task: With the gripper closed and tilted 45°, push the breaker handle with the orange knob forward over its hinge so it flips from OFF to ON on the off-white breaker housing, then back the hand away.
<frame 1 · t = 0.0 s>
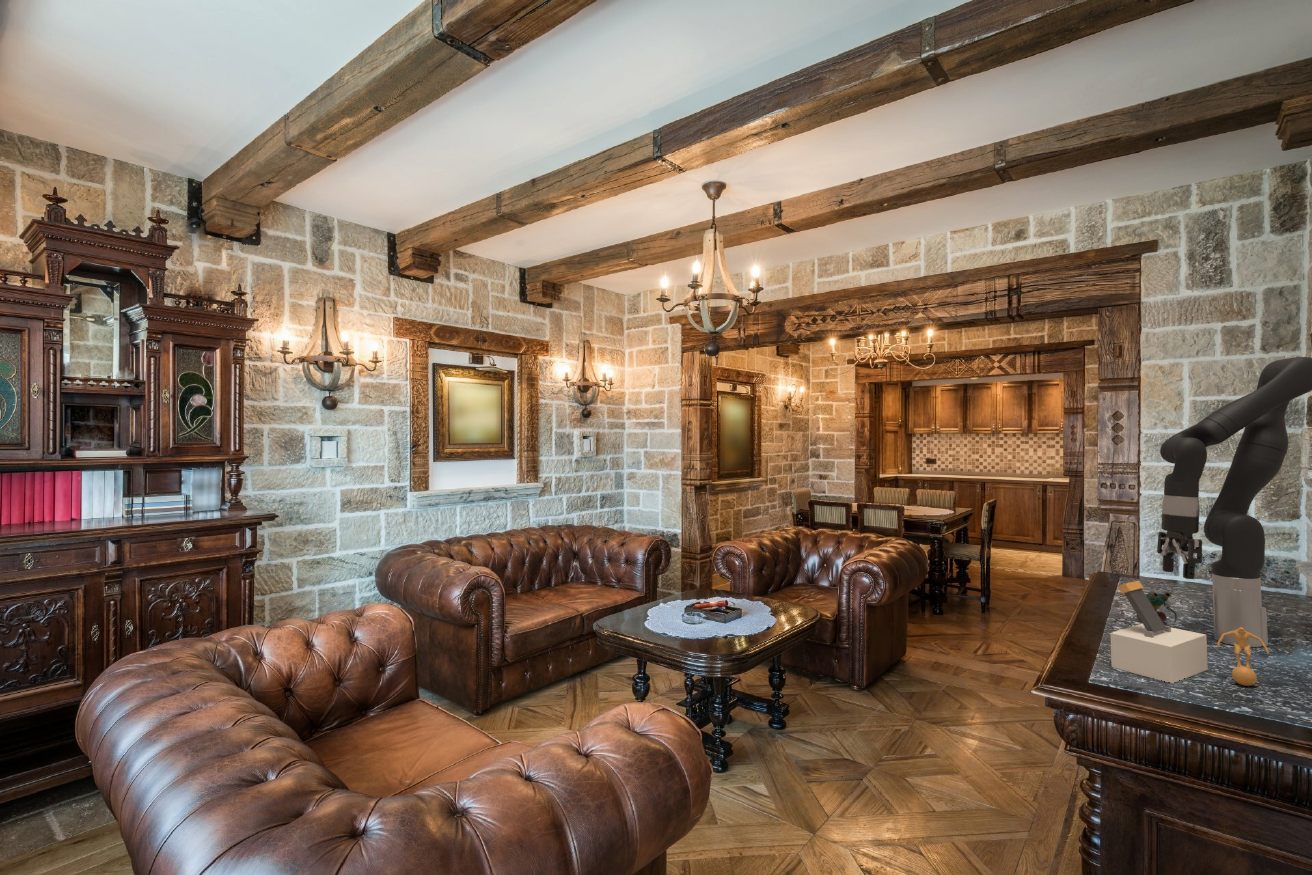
hand: (1177, 575, 164), 17 cm above the table, tool pointing down, fingers open, 8 cm apart
breaker housing: (1159, 668, 146), on the table
binoculars: (1153, 624, 180), on the table
breaker handle: (1143, 607, 148), point 14 cm above the table, hinge at -30.0°
figurine: (1244, 684, 136), on the table
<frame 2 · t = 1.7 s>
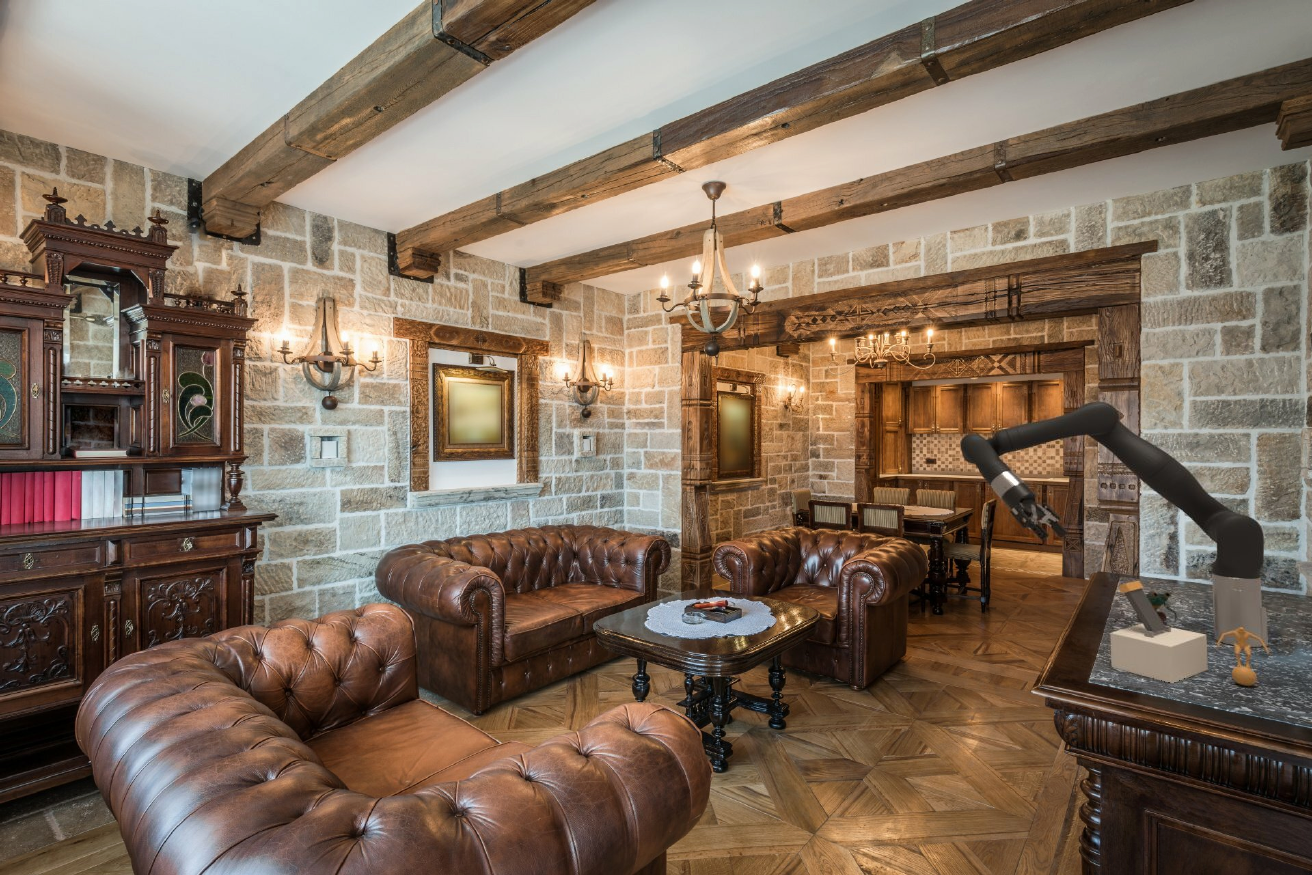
hand: (1055, 536, 166), 28 cm above the table, tool tilted 45°, fingers open, 8 cm apart
nothing on the table moved.
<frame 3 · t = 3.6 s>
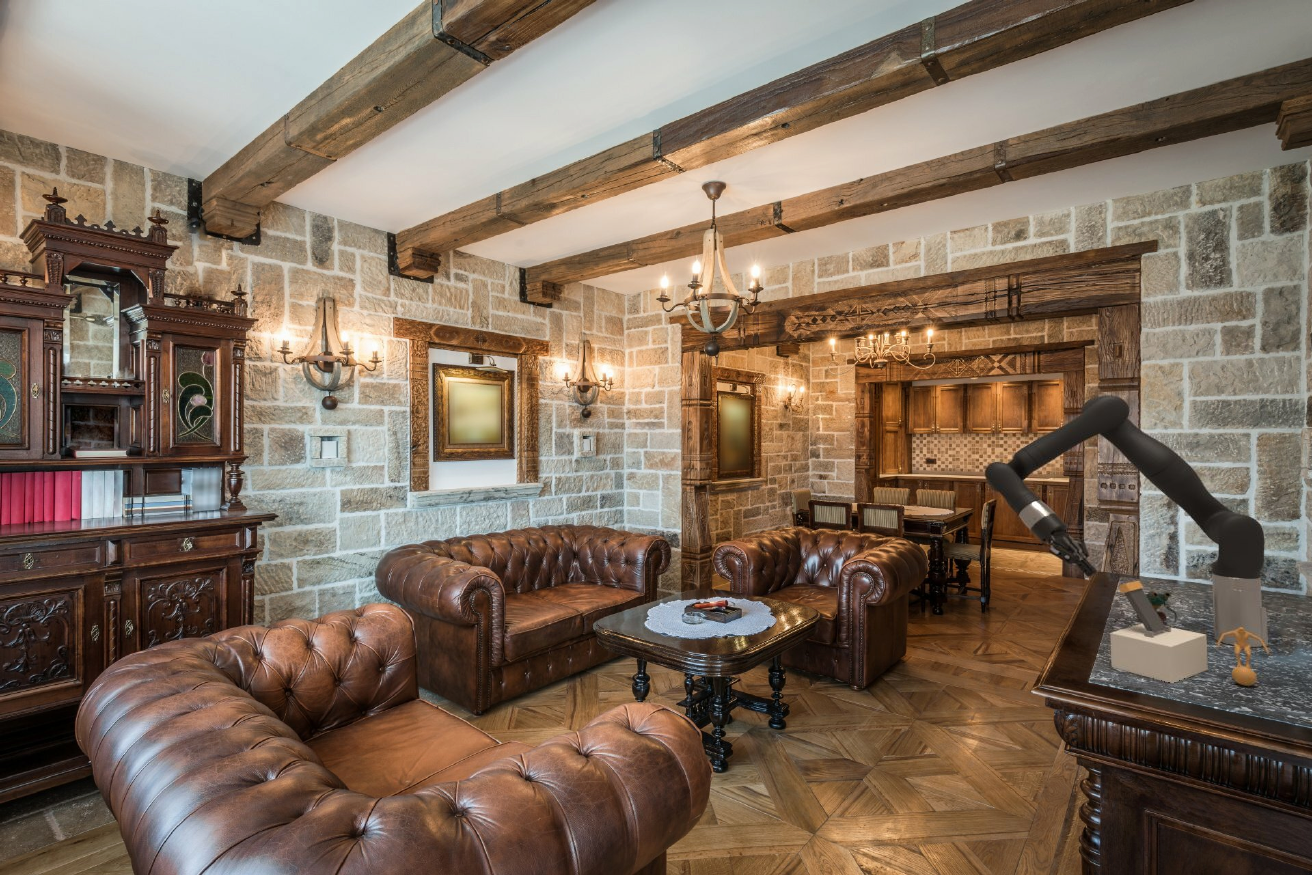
hand: (1093, 574, 158), 19 cm above the table, tool tilted 45°, fingers closed
nothing on the table moved.
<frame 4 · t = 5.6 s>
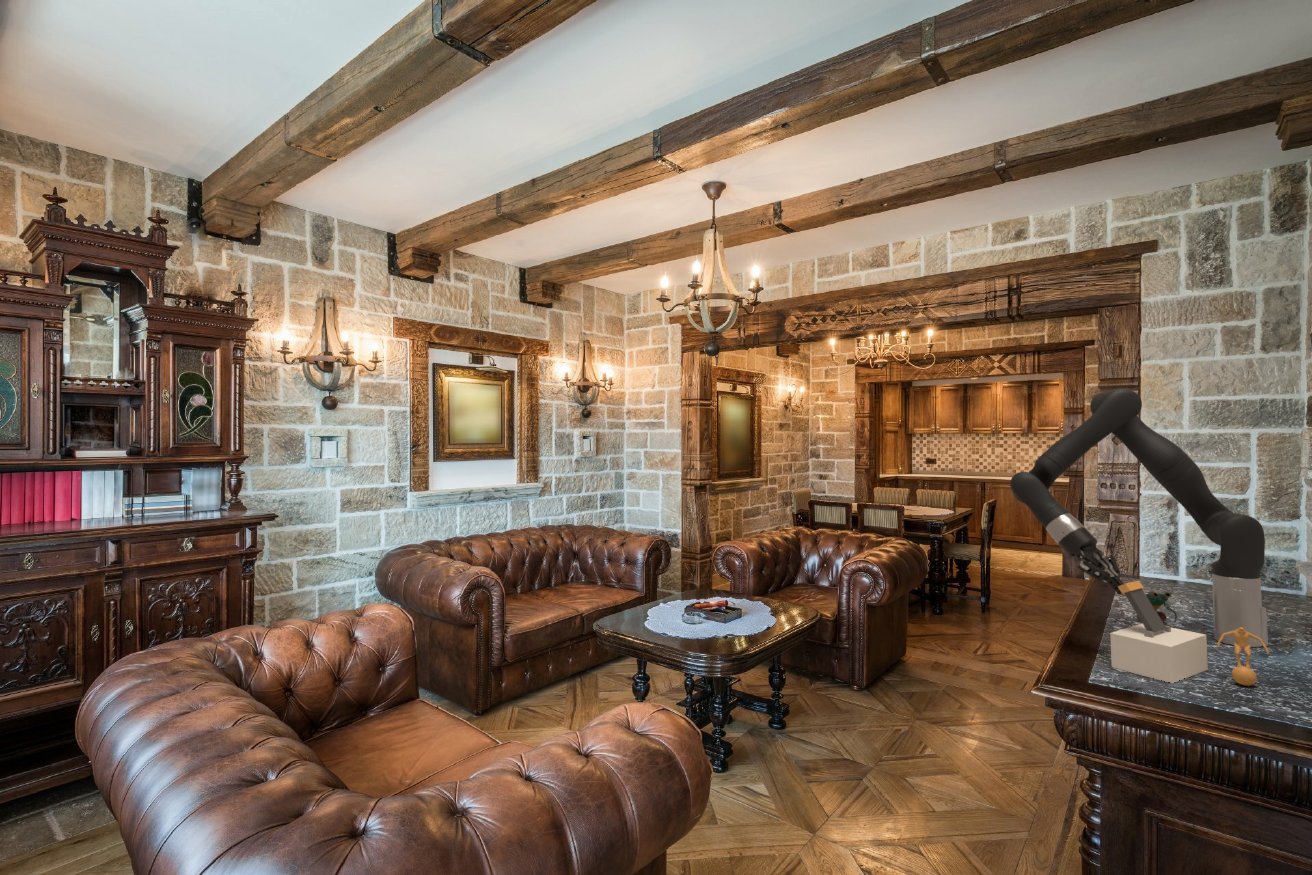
hand: (1124, 592, 152), 16 cm above the table, tool tilted 45°, fingers closed
breaker handle: (1143, 607, 148), point 14 cm above the table, hinge at -29.8°, touching gripper
everything else where it was.
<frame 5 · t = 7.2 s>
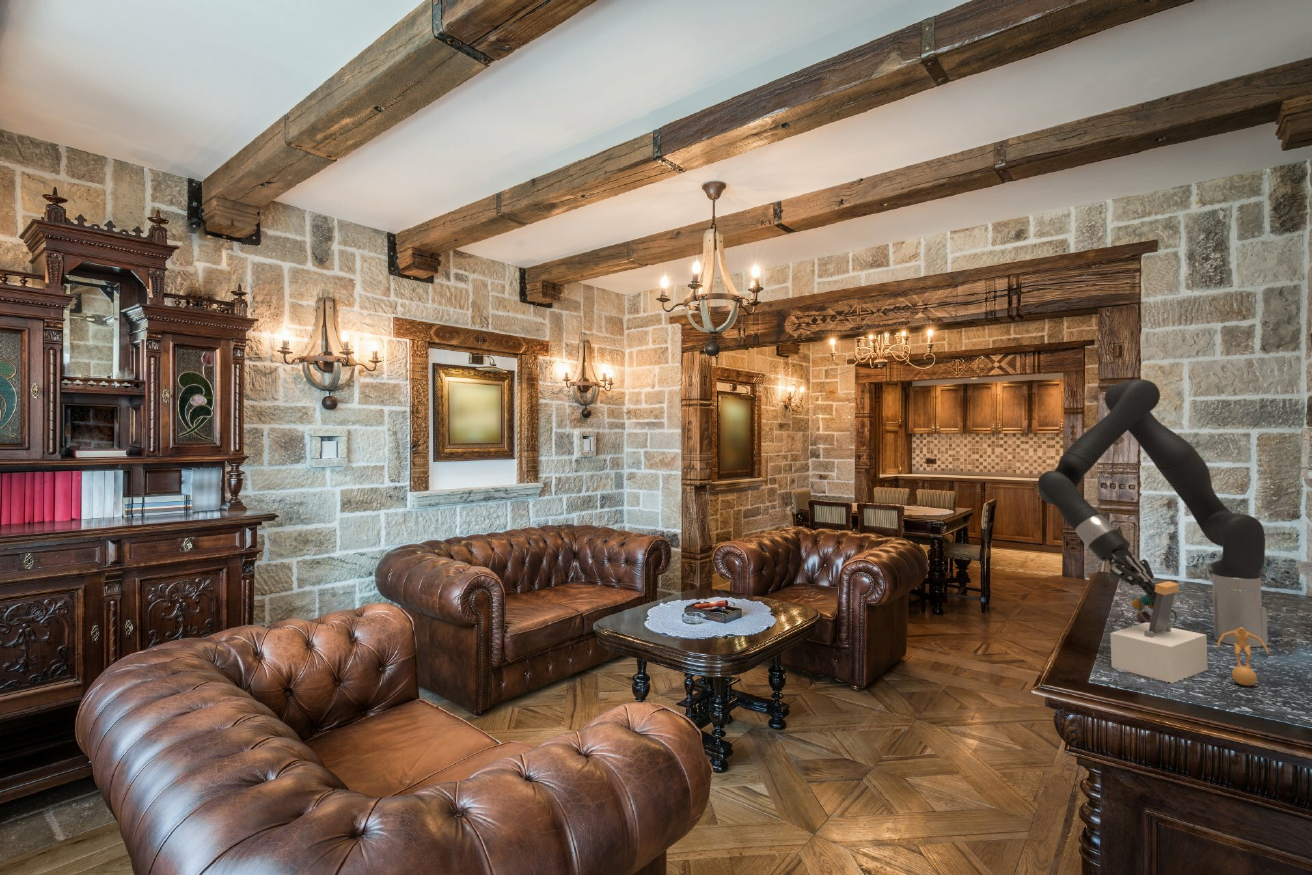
hand: (1159, 597, 145), 17 cm above the table, tool tilted 45°, fingers closed
breaker handle: (1162, 608, 145), point 14 cm above the table, hinge at 11.7°, touching gripper
everything else where it was.
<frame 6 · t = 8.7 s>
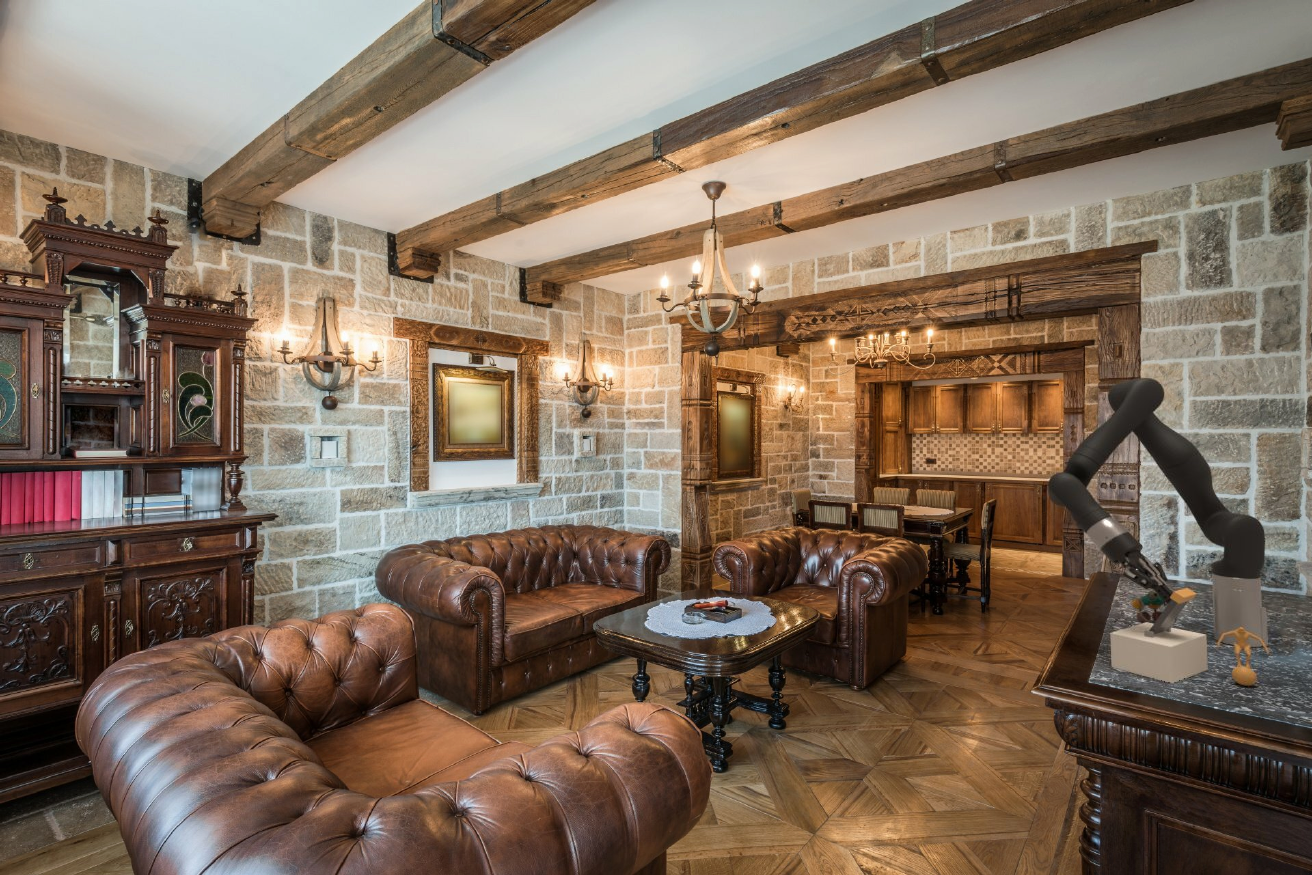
hand: (1173, 601, 143), 16 cm above the table, tool tilted 45°, fingers closed
breaker handle: (1170, 612, 143), point 14 cm above the table, hinge at 29.6°, touching gripper
everything else where it was.
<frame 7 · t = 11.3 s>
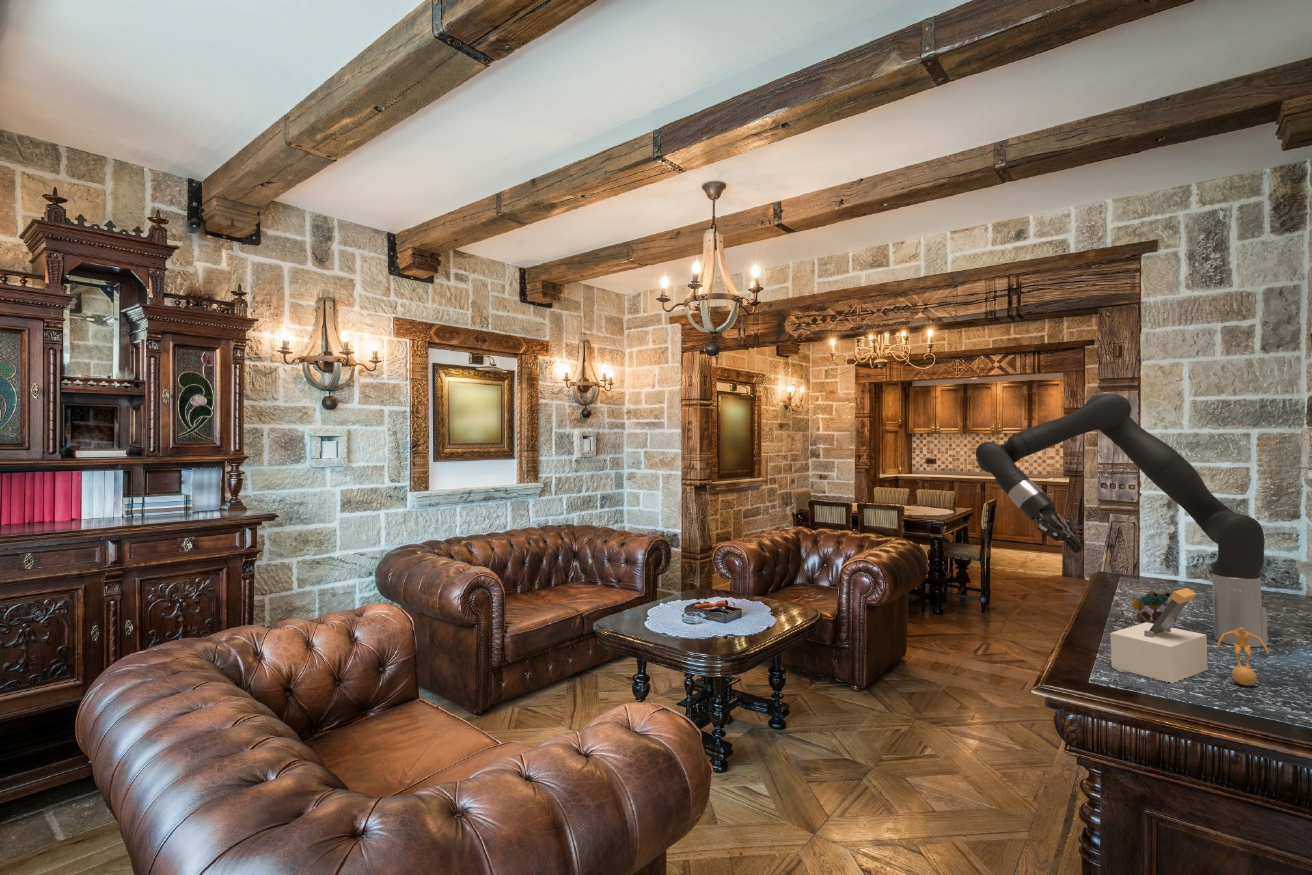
hand: (1080, 551, 160), 25 cm above the table, tool tilted 45°, fingers closed
breaker handle: (1170, 612, 143), point 14 cm above the table, hinge at 29.6°
everything else where it was.
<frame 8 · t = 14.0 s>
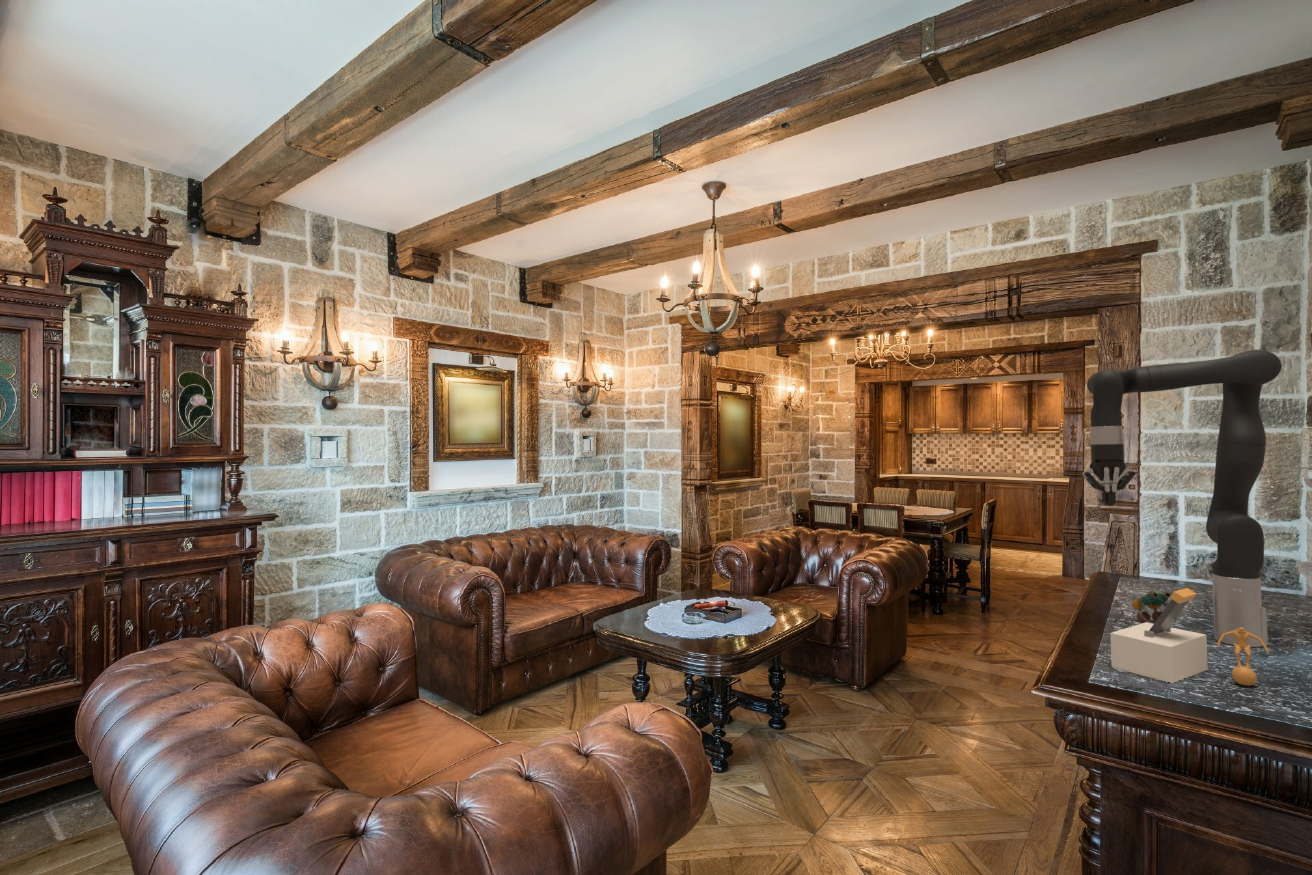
hand: (1109, 505, 173), 35 cm above the table, tool pointing down, fingers closed
nothing on the table moved.
at the end: breaker handle at +30° (first picture: -30°) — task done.
